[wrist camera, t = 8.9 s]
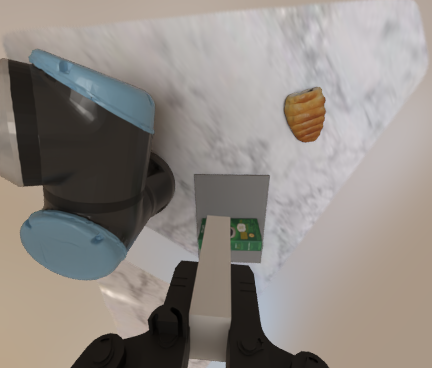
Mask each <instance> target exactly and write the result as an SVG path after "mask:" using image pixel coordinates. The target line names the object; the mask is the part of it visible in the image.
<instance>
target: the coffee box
mask: <svg viewBox="0 0 432 368" xmlns="http://www.w3.org/2000/svg"><path fill="white" fill-rule="evenodd" d="M206 220H207V218H202V222H201V228H200V233H199V236H198V249H199V250H201V247H202V241H203V236H204V231H205V225H206ZM262 249H263V241H262V235H261V233H260V229H259V223H258V220H257V219H252V218H249V219H241V218H240V219H237V218H230V250H232V251H262Z"/></svg>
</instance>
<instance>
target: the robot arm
mask: <svg viewBox="0 0 432 368" xmlns="http://www.w3.org/2000/svg"><path fill="white" fill-rule="evenodd" d="M29 61H30V62H31V63H32V64H27V63H22V62H18V61H14V60H9V59H5V58H2V59H0V176H1V177H3V178H5V179H6V180H8V181H10V182H12V183H13V184H15V185H17V186H19V187H24V186H39V185H43V192H44V207H43V209H42V210H39V211H37V212H34V213H33V214H31V215H30V217H29V219H27V220H26V221H25V222H24V223H23V225H22V226H21V230H20V238H21V242H22V244H23V246H24V248H25V249H26V251H27V252H28V253H29V254H30V255H31V256H32V258H34V259H35V260H36V261H37V262H38V263H40V264H41V265H43V266H44V267H45V268H47V269H49V270H50V271H52V272H54V273H57V274H59V275H62V276H65V277H68V278H72V279H78V280H96V279H99V278H102V277H105V276H107V275H109V274H110V273H112V272H113V271H114V270H115V269H116V267H117V266H118V265H119V264H120V262H121V261H122V260H124V259H125V257H126V255H127V252H128V251H129V249H130V248H131V246H132V245H133V243H134V241H135V240H136V238H137V237H138V235H139V234H140V232H141V231H142V229H143V227H144V226H145V224H146V223H147V221H148V220H149V218H150V217H152V216H154V215H156V214H157V213H159V212H161V211H162V210H163V209H165V208H166V206H167V205H168V204H169V202H170V201H171V199H172V197H173V194H174V191H175V180H174V176H173V174H172V171H171V170H170V168H169V166H168V165H167V164H166V163H165V162H164V161H163V160H162V159H161V158H160V157H159V156H157V155H155V154H154V153H152V152H150V151H151V144H152V138H153V134H154V133H155V131H154V129H153V126H154V116H155V103H154V101H153V99H152V97H151V96H150V95H149V94H148V93H147V92H146V91H144V90H142V89H140V88H137V87H135V86H132V85H130V84H127V83H125V82H122V81H120V80H117V79H115V78H112V77H110V76H107V75H105V74H102V73H100V72H97V71H95V70H92V69H90V68H87V67H84V66H82V65H79V64H77V63H74V62H72V61H69V60H66V59H64V58H61V57H58V56H56V55H53V54H51V53H48V52H46V51H43V50H40V49H35V50H33V51H32V53H31V55H30V56H29ZM148 325H149V330H148V331H147V332H145V333H143V334H141V335H138V336H134V337H130V338H127V339H122V338H121V337H120V336H119V335H118V334H112V333H110V334H105V335H102V336H100V337H99V338H97V339H95V340H94V341H93V342H92V343H91V344H90V345H89V346H88V347H87V348H86V349H85V350H84V352H83V353H82V354H81V355H80V357H79V358H78V359H77V360H76V362H75V363H74V364H73V365H72V367H71V368H187V367H188V361H189V358H190V359H200V360H210V361H220V362H226V368H329V367H328V366H327V364H326V363H325V362H324V361H323V360H322V359H321V358H319V357H318V356H317V355H315V354H313V353H311V352H304V351H301V352H299V353H297V354H296V355H293V354H291V353H288V352H286V351H284V350H282V349H280V348H278V347H277V346H275V345H273V344H272V343H271V342H270V341H269V340H268V338H267V337H266V336H265V334H264V332H263V330H262V327H261V322H260V315H259V308H258V301H257V294H256V286H255V279H254V273H253V272H252V270H251V269H250V267H249V265H237V264H231V250H230V217H224V216H210V215H207V220H206V225H205V231H204V236H203V241H202V247H201V252H200V258H199V262H192V261H181V262H180V263H179V264H178V265H177V267H176V268H175V271H174V274H173V277H172V280H171V283H170V286H169V289H168V293H167V296H166V299H165V302H164V305H162V306H159V307H158V308H156V309H155V310H154V311H153V312H152V313H151V315H150V317H149V319H148Z"/></svg>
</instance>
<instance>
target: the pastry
mask: <svg viewBox="0 0 432 368" xmlns="http://www.w3.org/2000/svg"><path fill="white" fill-rule="evenodd" d="M325 101H326V100H325V97H324V96H323V94H322V89H321V88H320V87H315V88H313V89H307V90H305V91H302V92H300V93H293V94H290V95H289V96H288V97H287V99H286V102H285V109H284V112H285V115H286V118H287V121H288V124H289V126H290V128H291V130H292V131H293V134H294V135H295V137H296V138H297V139H298V140H300V141H302V142H312V141H315V140H316V139H317V138H318V136H319V135H320V132H321V130H322V128H323V122H324V120H325V117H324V115H325V113H326V110H325V108H324V103H325Z"/></svg>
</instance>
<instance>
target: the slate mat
mask: <svg viewBox="0 0 432 368" xmlns="http://www.w3.org/2000/svg"><path fill="white" fill-rule="evenodd" d="M269 178H270V176H269V175H208V174H194V180H195V198H196V217H197V236H199V233H200V228H201V222H202V218H207V215H210V216H224V217H230V218H237V219H240V218H241V219H249V218H252V219H257V220H258V223H259V229H260V233H261V235H262V241H263V235H264V225H265V216H266V206H267V197H268V187H269ZM200 252H201V250H199V249H198V255H199V258H200ZM261 254H262V251H232V250H231V262H244V263H261Z"/></svg>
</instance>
